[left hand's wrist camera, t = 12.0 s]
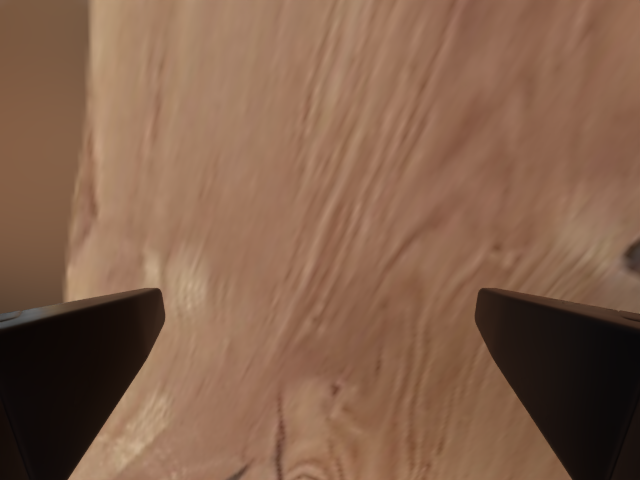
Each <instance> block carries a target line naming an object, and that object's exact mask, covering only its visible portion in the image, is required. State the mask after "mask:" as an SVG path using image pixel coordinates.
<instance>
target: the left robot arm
mask: <svg viewBox="0 0 640 480" xmlns="http://www.w3.org/2000/svg"><path fill="white" fill-rule="evenodd" d="M164 322H165V310H164V303H163V297H162V292H161V290H160V289H158V288H143V289H138V290H132V291H127V292H122V293H116V294H111V295H105V296H100V297H94V298H89V299H83V300H78V301H72V302H67V303H62V304H56V305H50V306H45V307H39V308H34V309H28V310H24V311H22V312H21V311H15V312H9V313H3V314H0V480H68V478H69V477H70V475H71V474H72V472H73V471H74V469H75V468H76V466H77V465H78V463H79V462H80V460H81V459H82V457H83V456H84V454H85V453H86V451H87V449H88V448H89V446H90V445H91V443H92V442H93V440H94V439H95V437H96V436H97V434H98V433H99V431H100V430H101V428H102V427H103V425H104V424H105V422H106V421H107V419H108V418H109V416H110V414H111V413H112V411H113V410H114V408H115V407H116V405H117V404H118V402H119V401H120V399H121V398H122V396H123V395H124V393H125V392H126V390H127V389H128V387H129V386H130V384H131V383H132V381H133V380H134V378H135V376H136V375H137V373H138V372H139V370H140V369H141V367H142V366H143V364H144V363H145V361H146V359H147V357H148V356H149V354H150V352H151V350H152V348H153V345H154V343H155V341H156V339H157V337H158V335H159V333H160V331H161V329H162V327H163V325H164ZM475 322H476V325H477V327H478V329H479V331H480V333H481V335H482V337H483V339H484V341H485V343H486V345H487V348H488V350H489V352H490V354H491V356H492V357H493V359H494V361H495V363H496V364H497V366H498V367H499V369H500V370H501V372H502V373H503V375H504V376H505V378H506V379H507V381H508V383H509V384H510V386H511V387H512V389H513V390H514V392H515V393H516V395H517V396H518V398H519V399H520V401H521V402H522V404H523V405H524V407H525V408H526V410H527V411H528V413H529V414H530V416H531V417H532V419H533V421H534V422H535V424H536V425H537V427H538V428H539V430H540V431H541V433H542V434H543V436H544V437H545V439H546V440H547V442H548V443H549V445H550V446H551V448H552V449H553V451H554V452H555V454H556V456H557V457H558V459H559V460H560V462H561V463H562V465H563V466H564V468H565V469H566V471H567V472H568V474H569V475H570V477H571V478H572V480H640V314H637V313H631V312H625V311H619V312H618V311H617V310H612V309H606V308H601V307H595V306H590V305H584V304H579V303H573V302H568V301H562V300H557V299H551V298H546V297H541V296H535V295H530V294H524V293H519V292H513V291H508V290H502V289H497V288H482V289H480V290H479V292H478V297H477V303H476V310H475Z"/></svg>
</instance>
